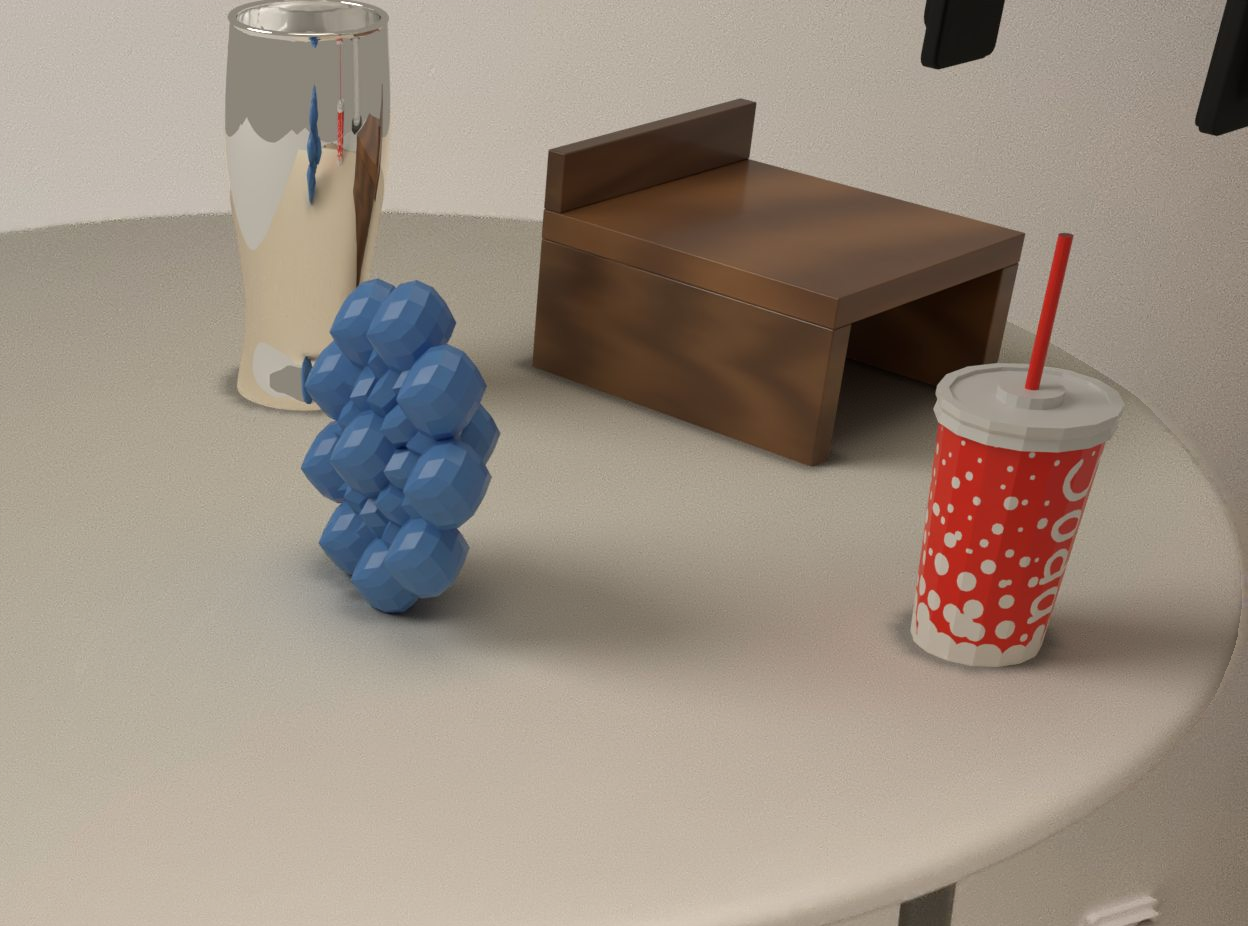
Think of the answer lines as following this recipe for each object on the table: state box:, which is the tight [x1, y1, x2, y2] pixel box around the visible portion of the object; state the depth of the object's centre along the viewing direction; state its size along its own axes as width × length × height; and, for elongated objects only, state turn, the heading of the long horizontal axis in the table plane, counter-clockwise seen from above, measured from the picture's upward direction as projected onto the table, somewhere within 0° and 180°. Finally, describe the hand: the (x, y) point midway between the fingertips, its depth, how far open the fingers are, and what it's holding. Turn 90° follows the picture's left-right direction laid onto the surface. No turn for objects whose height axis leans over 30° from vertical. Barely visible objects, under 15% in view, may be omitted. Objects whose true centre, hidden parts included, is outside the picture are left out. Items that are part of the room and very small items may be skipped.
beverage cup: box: [909, 232, 1126, 668], centre depth 74 cm, size 6×6×14 cm
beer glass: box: [223, 0, 392, 412], centre depth 93 cm, size 7×7×15 cm
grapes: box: [300, 277, 501, 614], centre depth 77 cm, size 12×7×12 cm, turn 23°
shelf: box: [531, 97, 1026, 467], centre depth 96 cm, size 16×13×9 cm
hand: (1087, 93), depth 67 cm, fingers open, 9 cm apart
